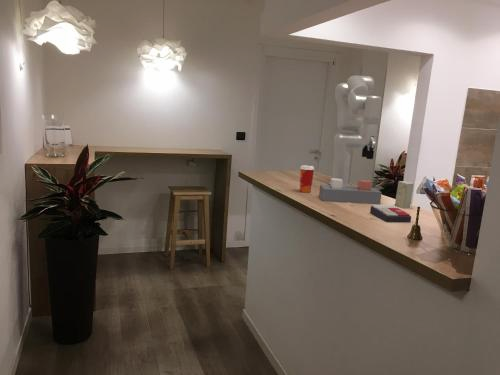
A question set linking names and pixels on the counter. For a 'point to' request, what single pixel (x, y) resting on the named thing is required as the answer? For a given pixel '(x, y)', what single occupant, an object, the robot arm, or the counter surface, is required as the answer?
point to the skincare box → (404, 194)
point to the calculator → (390, 214)
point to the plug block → (349, 195)
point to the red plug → (364, 185)
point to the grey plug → (336, 183)
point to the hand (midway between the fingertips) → (367, 157)
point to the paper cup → (306, 178)
